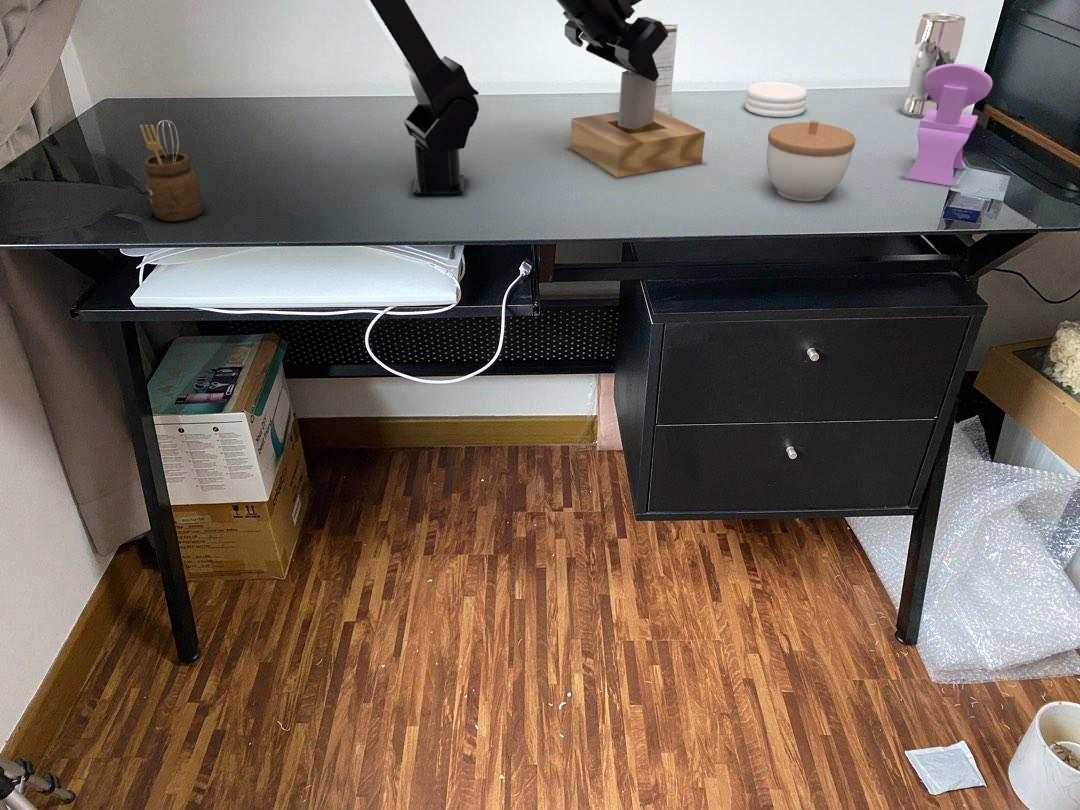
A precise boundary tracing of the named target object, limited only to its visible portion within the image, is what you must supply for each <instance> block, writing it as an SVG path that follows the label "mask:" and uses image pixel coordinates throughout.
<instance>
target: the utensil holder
mask: <svg viewBox="0 0 1080 810" xmlns="http://www.w3.org/2000/svg"><path fill="white" fill-rule="evenodd" d="M165 122H167V124H168V126H169V132H170V136H171V143H172V145H171V146H172V152H169V151H168V147H167V142H166V137H165V132H164V123H165ZM169 122H170V123H171V124H172V125H173V126H174V129H175V133H176V138H177V139H176V140H179V135H178V131H177V127H176V126H175V124H174V123H173V122H172V121H170V120H169V119H164V120H163V119H162V120H160V121H159V122H158V123H157V126H156V129H155V126H154V125H153V124H150V127H149V125H148V124H145V125H144V126H143V124H140V125H139V128H140V131H141V133H142V137H143V139H144V143H145V145H146V148H147V149H148V150H150V151H152V152H154V154H153V155H150V156H148V157H147V158H145V160H144V162H143V165H144V171H145V172H146V177H145V186H146V189H147V193H148V198H149V201H150V205H151V208H152V211H153V214H154V216H155V218H157V219H158V220H159V221H162V222H169V223H170V222H171V223H172V222H174V223H175V222H184V221H189V220H192V219H195V218H197V217H199V216H201V215H202V213H203V211H204V202H203V198H202V194H201V189H200V184H199V180H198V177H197V174H196V172H195V171H194V170H193V169H192V168H191V167H192V163H191V160H190V158H189V156H188V155H187V154H186V153H182V152H178V151H179V143H180V142H179V141H177V148H176V151H175V146H174V139H173V138H174V137H173V133H172V128H171V125H170V123H169ZM160 123H161V130H162V136H163V140H164V142H163V143H164V146H165V149H166V152H165V151H164V150H163V147H162V145H161V141H160V137H159V136H160V135H158V134H159V125H160ZM144 127H145V129H144ZM150 128H151V130H150ZM146 133H147V134H146ZM147 135H148V136H147ZM148 138H149V139H148ZM160 150H162V152H161V153H159V151H160Z"/></svg>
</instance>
